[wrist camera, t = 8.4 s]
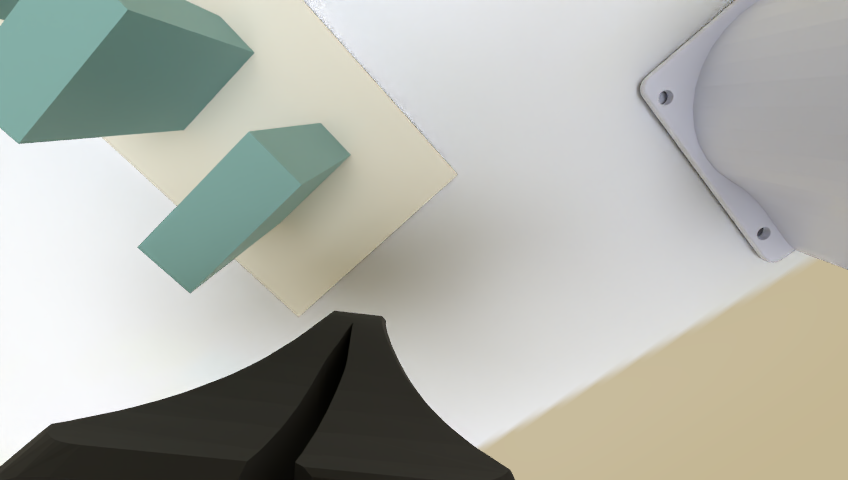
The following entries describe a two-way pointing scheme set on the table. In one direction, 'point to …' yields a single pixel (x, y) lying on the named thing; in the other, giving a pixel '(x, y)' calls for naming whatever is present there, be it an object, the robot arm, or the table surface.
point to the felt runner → (291, 106)
